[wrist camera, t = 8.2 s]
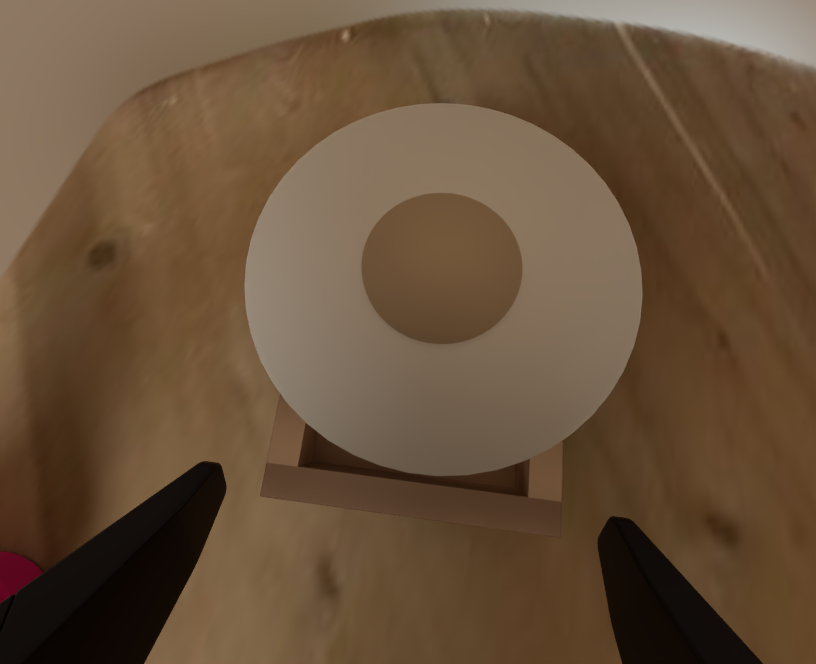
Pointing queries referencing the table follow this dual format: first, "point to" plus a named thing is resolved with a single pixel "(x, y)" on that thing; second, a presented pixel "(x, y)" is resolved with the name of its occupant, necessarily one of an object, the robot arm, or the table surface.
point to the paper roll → (443, 289)
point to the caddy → (411, 484)
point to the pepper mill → (15, 573)
